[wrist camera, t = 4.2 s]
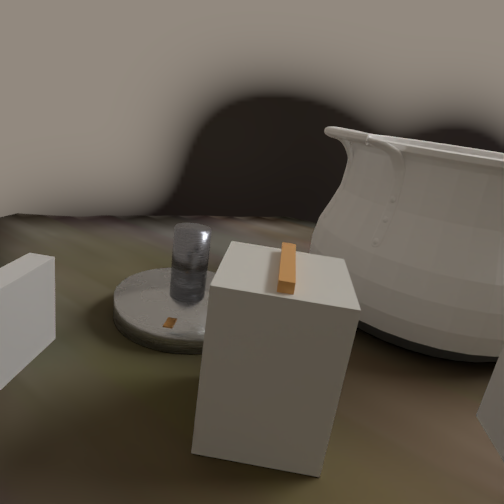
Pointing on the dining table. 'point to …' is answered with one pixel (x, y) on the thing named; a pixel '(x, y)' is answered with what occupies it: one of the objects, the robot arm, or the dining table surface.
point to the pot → (421, 243)
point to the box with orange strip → (274, 357)
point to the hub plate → (169, 297)
